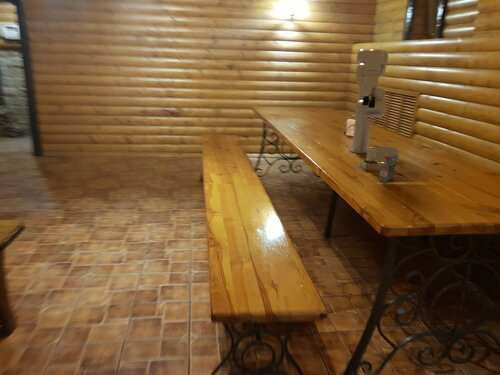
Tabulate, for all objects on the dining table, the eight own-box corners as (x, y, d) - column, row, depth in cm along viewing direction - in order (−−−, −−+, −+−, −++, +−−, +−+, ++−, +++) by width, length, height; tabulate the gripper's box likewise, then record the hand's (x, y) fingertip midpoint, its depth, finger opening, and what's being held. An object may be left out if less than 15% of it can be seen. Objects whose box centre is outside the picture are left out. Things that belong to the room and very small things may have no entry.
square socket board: (359, 166, 201) (361, 154, 199) (389, 166, 202) (391, 154, 199) (364, 170, 193) (366, 157, 191) (395, 171, 194) (397, 158, 192)
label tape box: (385, 178, 186) (388, 153, 182) (393, 180, 184) (397, 155, 180) (378, 182, 180) (381, 156, 176) (386, 184, 177) (390, 158, 173)
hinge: (370, 163, 212) (371, 145, 212) (367, 164, 216) (368, 146, 216) (400, 164, 212) (400, 146, 212) (396, 164, 217) (396, 147, 217)
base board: (353, 166, 205) (353, 164, 204) (386, 167, 206) (386, 164, 205) (361, 174, 192) (362, 171, 191) (396, 174, 193) (397, 172, 192)
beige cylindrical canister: (364, 167, 199) (366, 146, 196) (372, 167, 199) (375, 146, 196) (366, 169, 195) (369, 148, 192) (375, 169, 195) (377, 148, 192)
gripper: (360, 73, 211) (356, 104, 217) (371, 74, 195) (366, 108, 200) (373, 73, 212) (369, 104, 217) (385, 75, 195) (380, 108, 201)
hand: (368, 106), depth 209 cm, fingers open, 9 cm apart
